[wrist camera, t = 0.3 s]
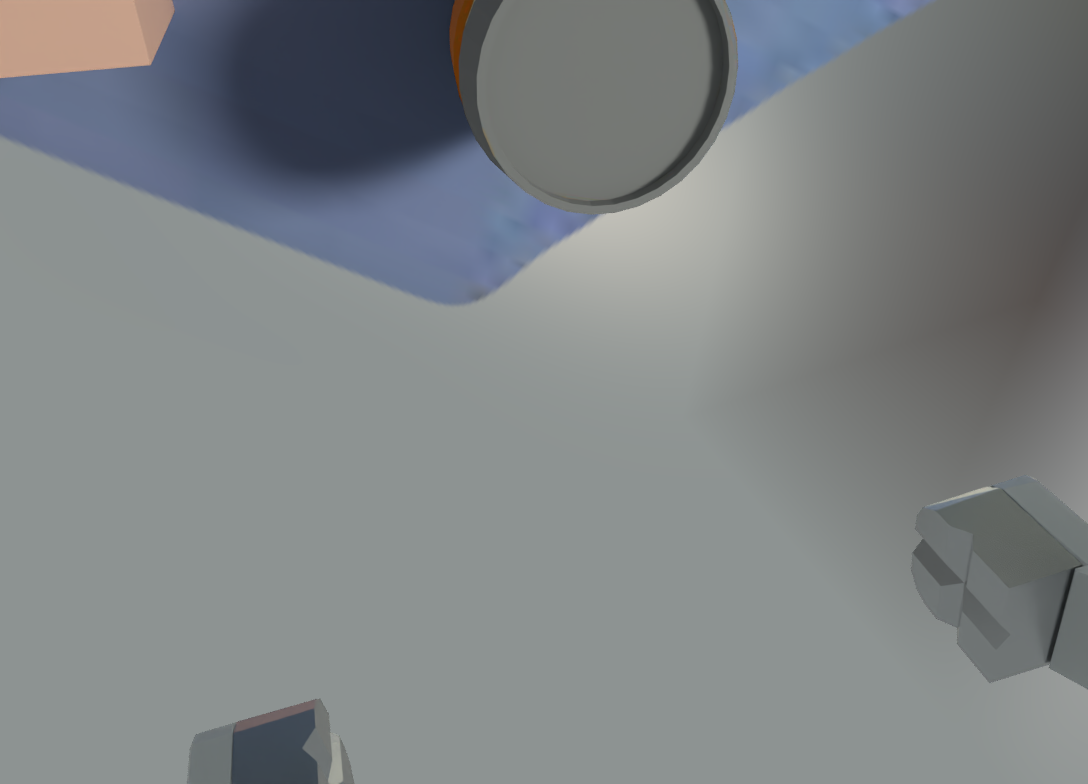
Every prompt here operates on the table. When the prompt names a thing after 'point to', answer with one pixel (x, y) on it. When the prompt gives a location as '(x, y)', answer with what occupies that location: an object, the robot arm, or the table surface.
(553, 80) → the reusable coffee cup
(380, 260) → the table surface
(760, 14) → the table surface
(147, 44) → the peach block
